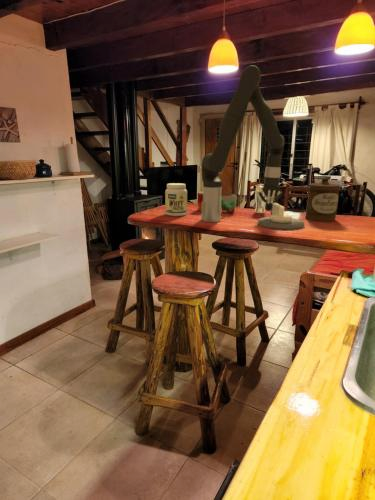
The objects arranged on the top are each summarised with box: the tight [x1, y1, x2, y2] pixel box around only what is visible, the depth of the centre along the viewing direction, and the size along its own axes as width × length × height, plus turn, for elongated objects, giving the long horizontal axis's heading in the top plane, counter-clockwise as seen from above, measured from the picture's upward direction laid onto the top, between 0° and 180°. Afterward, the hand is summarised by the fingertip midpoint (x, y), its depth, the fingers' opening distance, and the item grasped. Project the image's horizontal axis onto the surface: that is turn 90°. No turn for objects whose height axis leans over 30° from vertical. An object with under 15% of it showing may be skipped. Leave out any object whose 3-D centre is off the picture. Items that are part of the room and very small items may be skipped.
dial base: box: [257, 216, 305, 231], centre depth 156 cm, size 22×22×2 cm
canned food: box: [197, 190, 203, 212], centre depth 190 cm, size 8×8×11 cm
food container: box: [221, 193, 238, 214], centre depth 184 cm, size 12×6×10 cm, turn 143°
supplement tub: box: [164, 182, 188, 217], centre depth 177 cm, size 12×12×17 cm
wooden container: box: [305, 176, 341, 223], centre depth 167 cm, size 15×15×22 cm
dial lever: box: [270, 202, 293, 223], centre depth 159 cm, size 18×10×7 cm, turn 3°
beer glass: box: [254, 185, 266, 214], centre depth 184 cm, size 7×7×15 cm
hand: (268, 210), depth 164 cm, fingers closed
